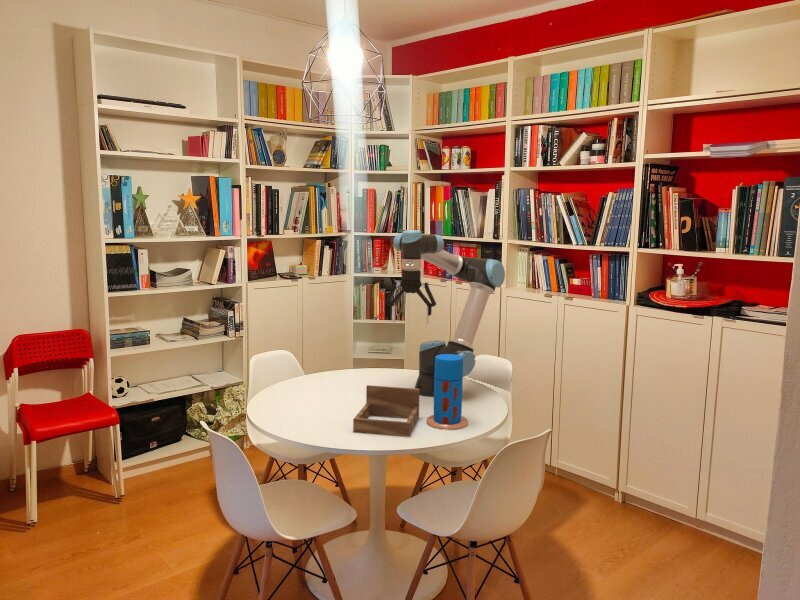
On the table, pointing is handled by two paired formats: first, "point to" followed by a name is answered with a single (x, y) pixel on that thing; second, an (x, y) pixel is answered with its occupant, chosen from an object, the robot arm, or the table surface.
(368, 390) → the frame
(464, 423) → the terracotta disc
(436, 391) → the thermos
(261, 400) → the table surface
